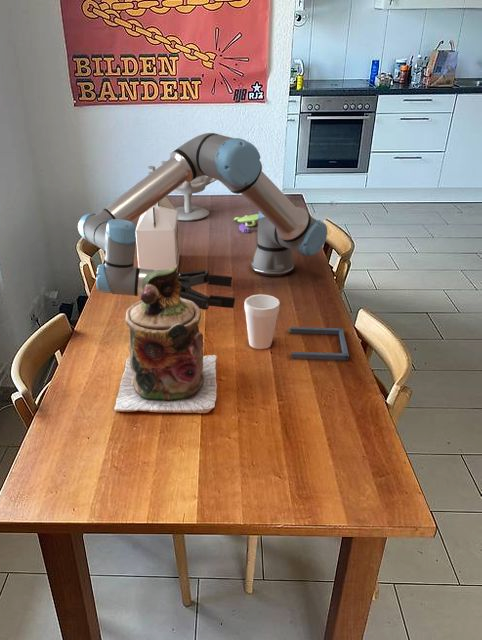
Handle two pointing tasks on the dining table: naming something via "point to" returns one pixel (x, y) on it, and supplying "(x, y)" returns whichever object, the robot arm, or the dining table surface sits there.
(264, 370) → the dining table surface
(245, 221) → the toy airplane
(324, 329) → the bay
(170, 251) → the gable box
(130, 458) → the dining table surface
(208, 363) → the cookie jar
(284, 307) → the dining table surface
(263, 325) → the foam cup
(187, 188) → the candelabra
